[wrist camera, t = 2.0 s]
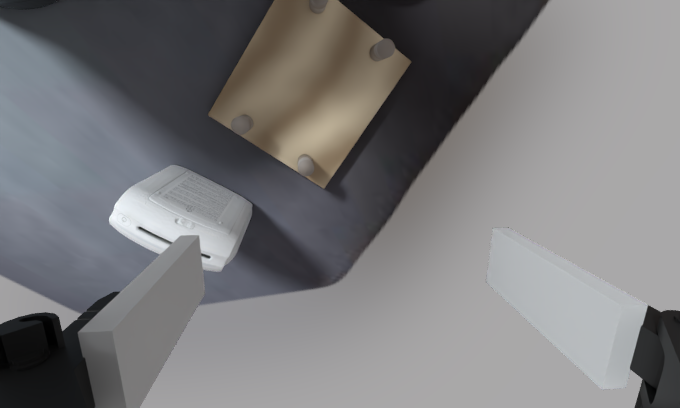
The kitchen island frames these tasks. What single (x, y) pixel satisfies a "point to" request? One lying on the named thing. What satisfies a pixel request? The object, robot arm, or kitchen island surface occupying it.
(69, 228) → the kitchen island surface
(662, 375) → the robot arm
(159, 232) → the photo printer
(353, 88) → the peg board
